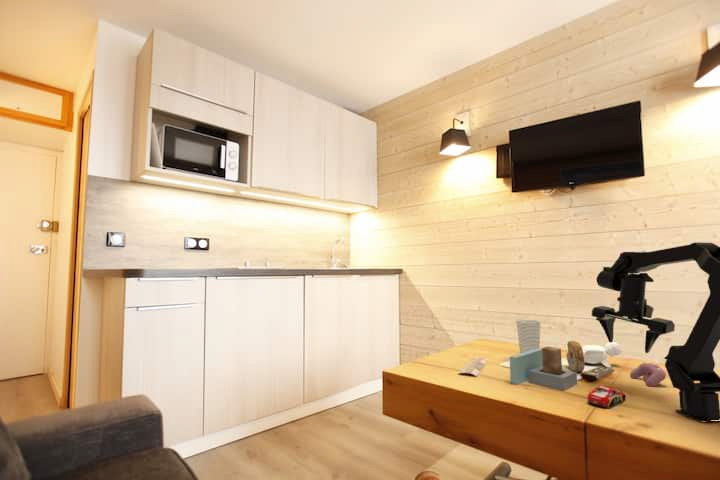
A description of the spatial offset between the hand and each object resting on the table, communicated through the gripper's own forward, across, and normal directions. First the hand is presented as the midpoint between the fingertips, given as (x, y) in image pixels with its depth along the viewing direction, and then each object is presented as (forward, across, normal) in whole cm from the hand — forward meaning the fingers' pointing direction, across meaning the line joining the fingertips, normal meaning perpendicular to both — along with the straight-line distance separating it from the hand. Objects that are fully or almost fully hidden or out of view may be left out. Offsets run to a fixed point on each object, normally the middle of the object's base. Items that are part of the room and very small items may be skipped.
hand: (628, 347), depth 103 cm
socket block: (+14, +13, +14) cm, 24 cm away
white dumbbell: (+17, +18, -22) cm, 33 cm away
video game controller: (+13, -1, -13) cm, 19 cm away
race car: (+11, -3, +16) cm, 20 cm away
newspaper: (+18, +37, +21) cm, 46 cm away
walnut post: (+13, +13, +14) cm, 23 cm away
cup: (+18, +33, -2) cm, 37 cm away
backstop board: (+14, +20, +16) cm, 29 cm away
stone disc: (+16, +18, -7) cm, 25 cm away
